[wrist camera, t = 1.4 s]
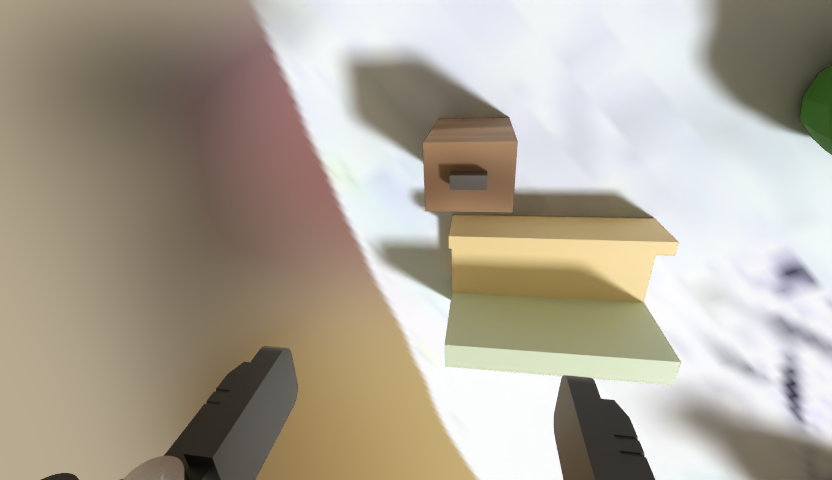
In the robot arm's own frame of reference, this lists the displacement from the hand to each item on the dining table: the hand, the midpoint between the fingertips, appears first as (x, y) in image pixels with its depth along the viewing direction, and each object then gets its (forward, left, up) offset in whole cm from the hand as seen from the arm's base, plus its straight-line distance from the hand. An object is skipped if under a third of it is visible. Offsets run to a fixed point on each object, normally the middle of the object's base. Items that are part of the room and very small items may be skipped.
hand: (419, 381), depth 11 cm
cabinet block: (-2, +1, -21) cm, 21 cm away
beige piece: (+7, +7, -20) cm, 23 cm away
